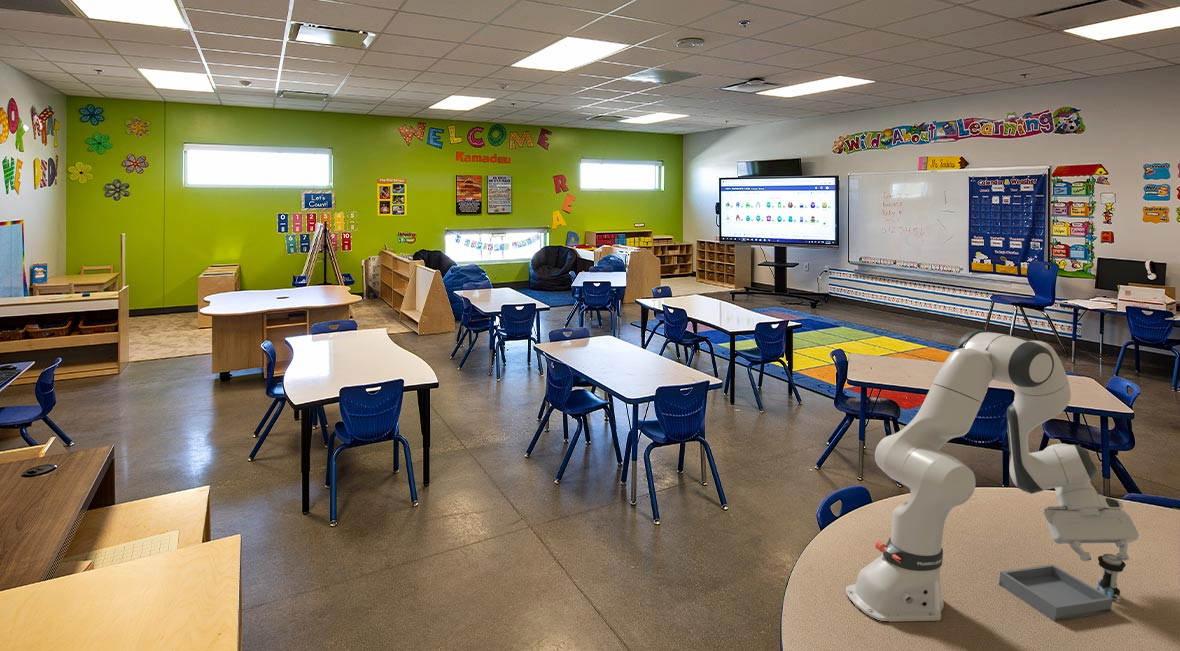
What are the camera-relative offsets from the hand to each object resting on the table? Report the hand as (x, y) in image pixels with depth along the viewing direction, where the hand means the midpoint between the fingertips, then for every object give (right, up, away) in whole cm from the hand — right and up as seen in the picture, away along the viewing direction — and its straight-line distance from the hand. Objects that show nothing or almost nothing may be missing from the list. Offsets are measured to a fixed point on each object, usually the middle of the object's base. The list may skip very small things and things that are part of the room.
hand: (1105, 560), depth 166 cm
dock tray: (-14, -9, -2) cm, 17 cm away
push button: (0, -9, -1) cm, 9 cm away
